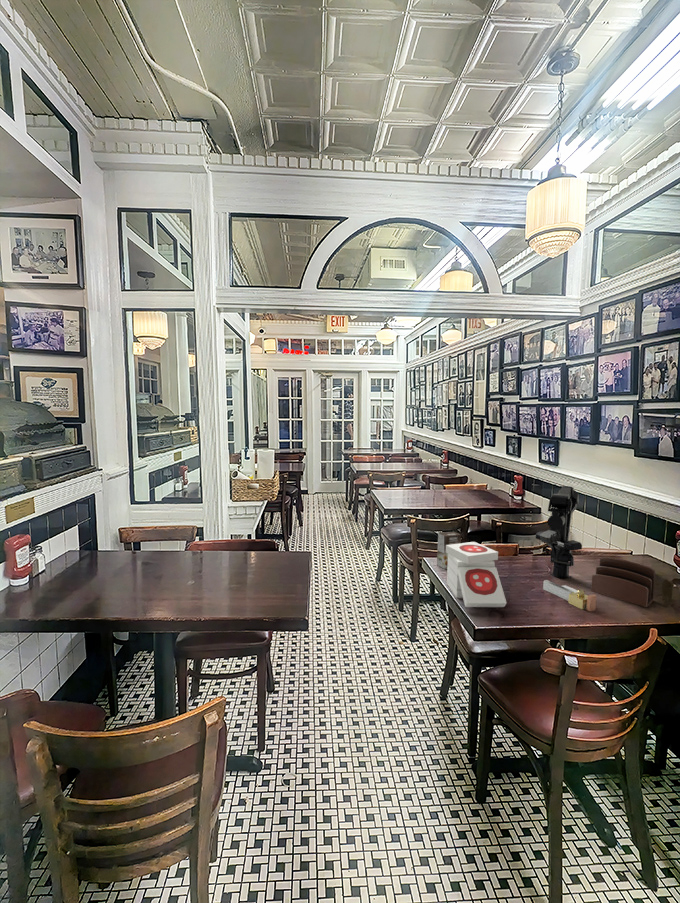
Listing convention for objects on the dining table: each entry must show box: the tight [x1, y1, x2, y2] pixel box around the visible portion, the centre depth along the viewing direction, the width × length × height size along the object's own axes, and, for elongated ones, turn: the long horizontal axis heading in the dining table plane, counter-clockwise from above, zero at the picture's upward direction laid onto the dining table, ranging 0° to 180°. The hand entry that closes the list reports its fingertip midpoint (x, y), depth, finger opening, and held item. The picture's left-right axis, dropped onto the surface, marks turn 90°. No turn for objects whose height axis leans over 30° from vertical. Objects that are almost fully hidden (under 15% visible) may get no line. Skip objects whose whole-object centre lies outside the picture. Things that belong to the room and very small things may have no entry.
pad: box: [561, 585, 579, 593], centre depth 180 cm, size 9×9×1 cm
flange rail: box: [542, 579, 597, 612], centre depth 170 cm, size 11×22×6 cm, turn 23°
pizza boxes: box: [446, 541, 508, 608], centre depth 174 cm, size 19×30×18 cm, turn 1°
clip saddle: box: [567, 589, 588, 610], centre depth 166 cm, size 6×6×6 cm
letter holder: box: [590, 556, 656, 608], centre depth 175 cm, size 10×20×14 cm, turn 42°
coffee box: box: [436, 531, 462, 570], centre depth 207 cm, size 9×6×16 cm
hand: (556, 560), depth 183 cm, fingers closed
